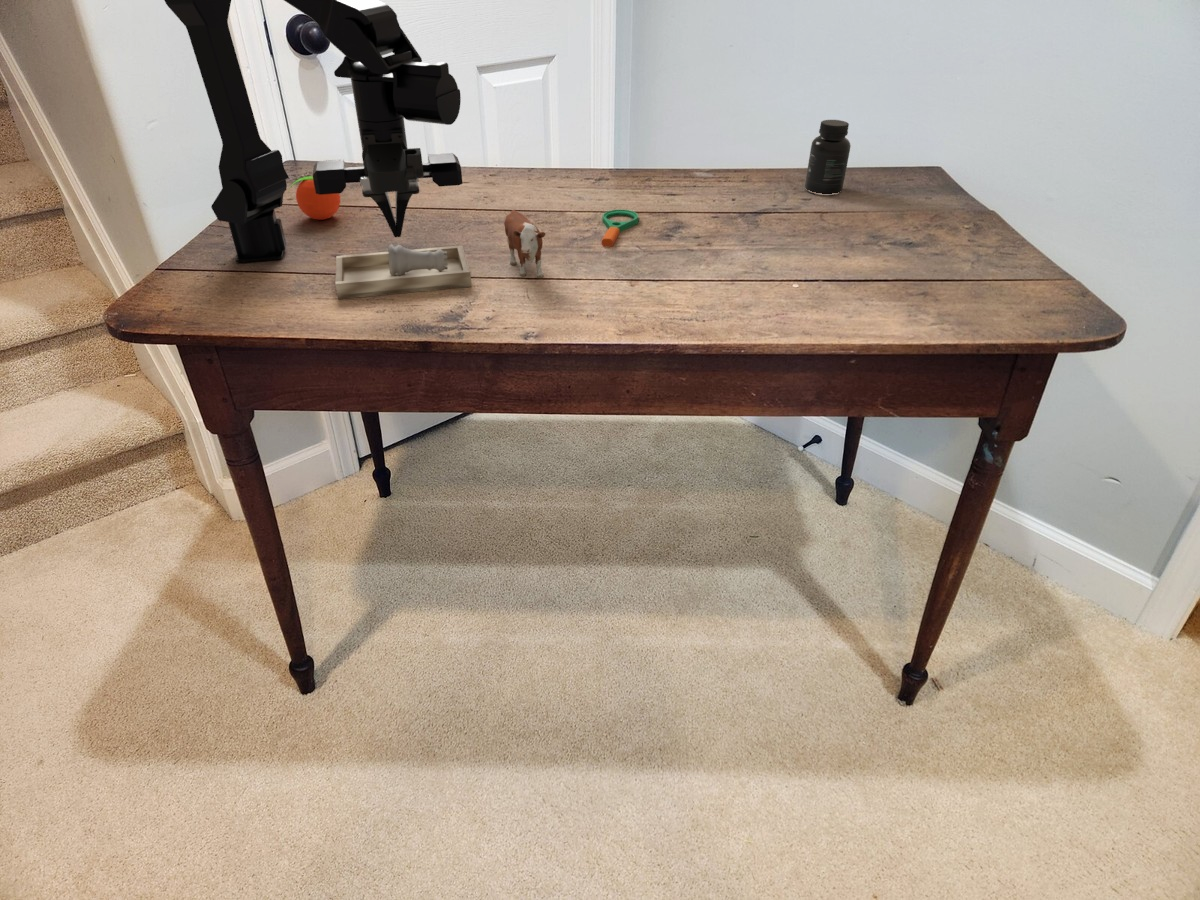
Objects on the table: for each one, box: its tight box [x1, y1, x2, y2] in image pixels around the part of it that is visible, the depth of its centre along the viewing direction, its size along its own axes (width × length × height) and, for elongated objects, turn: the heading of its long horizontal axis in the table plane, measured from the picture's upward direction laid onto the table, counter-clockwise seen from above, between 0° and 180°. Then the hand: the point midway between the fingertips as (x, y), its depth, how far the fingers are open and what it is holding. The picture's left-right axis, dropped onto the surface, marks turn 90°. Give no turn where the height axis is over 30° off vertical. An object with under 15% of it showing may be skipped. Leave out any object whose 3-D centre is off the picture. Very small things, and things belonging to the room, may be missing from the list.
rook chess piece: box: [387, 243, 448, 276], centre depth 112 cm, size 4×4×8 cm
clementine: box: [287, 175, 341, 221], centre depth 130 cm, size 8×7×7 cm
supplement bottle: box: [804, 119, 852, 194], centre depth 143 cm, size 7×7×12 cm
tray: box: [334, 245, 472, 300], centre depth 112 cm, size 18×10×2 cm, turn 104°
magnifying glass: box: [600, 209, 639, 248], centre depth 129 cm, size 15×6×2 cm, turn 169°
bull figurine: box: [503, 209, 547, 279], centre depth 113 cm, size 4×13×8 cm, turn 15°
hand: (397, 236), depth 109 cm, fingers closed
